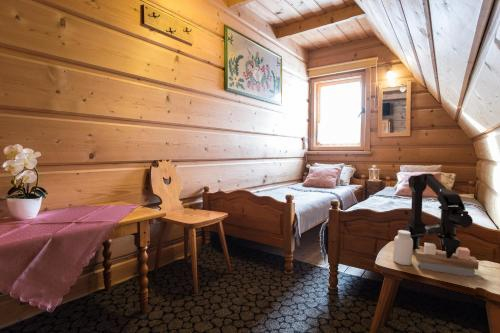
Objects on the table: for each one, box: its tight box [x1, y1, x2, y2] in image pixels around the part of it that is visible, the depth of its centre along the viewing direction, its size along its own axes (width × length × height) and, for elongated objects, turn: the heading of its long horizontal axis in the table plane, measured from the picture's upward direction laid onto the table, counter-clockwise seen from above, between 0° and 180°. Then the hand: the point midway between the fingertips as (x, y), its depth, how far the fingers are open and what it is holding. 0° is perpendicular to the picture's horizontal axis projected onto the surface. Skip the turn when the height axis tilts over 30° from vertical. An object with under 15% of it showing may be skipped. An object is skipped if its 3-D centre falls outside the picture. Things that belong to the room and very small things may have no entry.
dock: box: [417, 261, 476, 278], centre depth 129 cm, size 8×20×3 cm, turn 67°
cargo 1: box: [423, 242, 437, 255], centre depth 131 cm, size 4×4×4 cm
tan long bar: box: [414, 249, 480, 270], centre depth 128 cm, size 6×23×4 cm, turn 67°
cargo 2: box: [455, 246, 471, 260], centre depth 125 cm, size 4×4×4 cm
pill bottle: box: [392, 229, 414, 266], centre depth 135 cm, size 8×8×15 cm
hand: (445, 254), depth 128 cm, fingers open, 9 cm apart
